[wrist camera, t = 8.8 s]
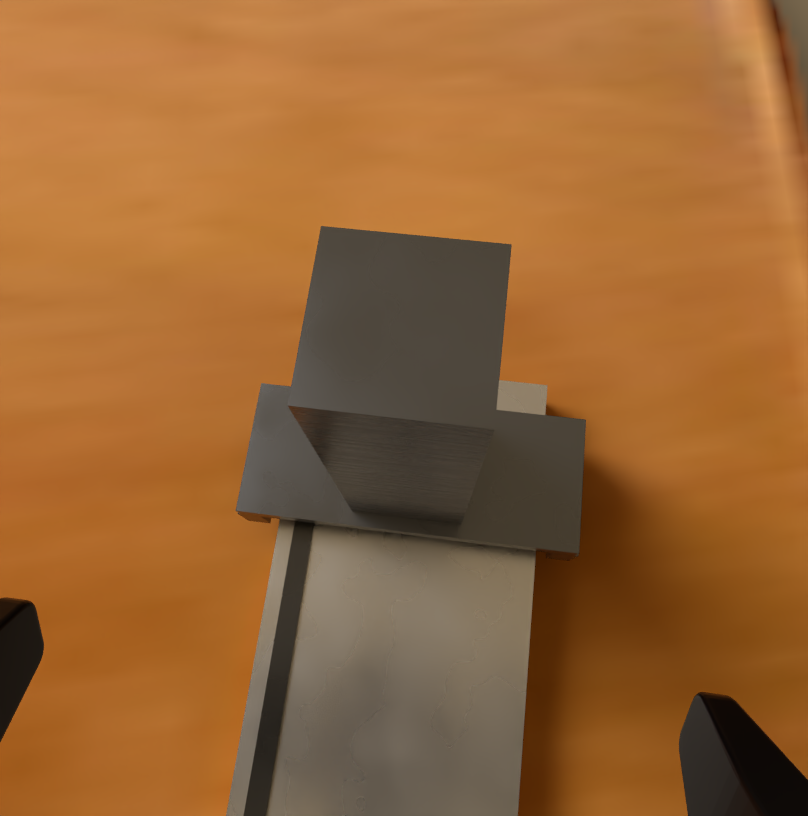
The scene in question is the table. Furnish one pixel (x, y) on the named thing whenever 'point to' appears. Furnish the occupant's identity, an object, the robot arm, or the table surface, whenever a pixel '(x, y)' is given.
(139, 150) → the table surface
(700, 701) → the robot arm
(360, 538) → the bolt plate
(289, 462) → the leg
